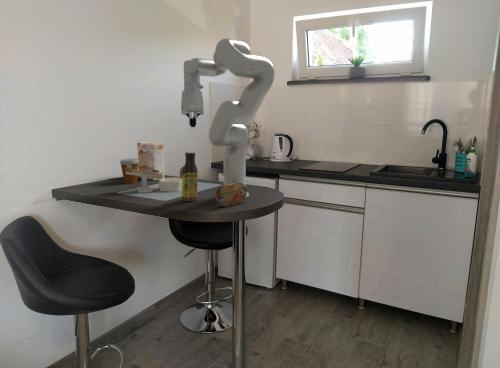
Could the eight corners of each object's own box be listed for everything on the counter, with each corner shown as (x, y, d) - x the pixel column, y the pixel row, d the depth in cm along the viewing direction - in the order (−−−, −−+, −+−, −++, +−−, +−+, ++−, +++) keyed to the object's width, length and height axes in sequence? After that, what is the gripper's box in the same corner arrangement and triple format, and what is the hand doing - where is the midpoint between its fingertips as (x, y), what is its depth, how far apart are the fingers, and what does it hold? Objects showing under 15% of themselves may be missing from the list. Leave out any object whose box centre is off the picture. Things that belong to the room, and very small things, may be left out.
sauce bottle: (184, 202, 149) (183, 153, 145) (180, 199, 154) (179, 151, 151) (199, 201, 151) (199, 152, 148) (195, 198, 157) (195, 151, 153)
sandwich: (219, 208, 140) (219, 186, 139) (214, 207, 142) (214, 185, 141) (246, 202, 151) (247, 181, 149) (241, 200, 153) (241, 180, 152)
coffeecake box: (138, 176, 209) (136, 142, 205) (149, 175, 214) (147, 141, 211) (154, 180, 199) (152, 143, 196) (164, 178, 205) (163, 143, 201)
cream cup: (185, 190, 172) (185, 181, 171) (161, 192, 168) (160, 182, 167) (181, 186, 183) (181, 177, 182) (158, 187, 179) (157, 178, 178)
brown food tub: (117, 182, 190) (115, 159, 188) (132, 180, 198) (131, 157, 196) (128, 184, 185) (127, 161, 183) (144, 182, 193) (143, 159, 190)
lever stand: (152, 192, 168) (151, 173, 166) (138, 192, 166) (137, 174, 164) (150, 188, 176) (149, 171, 175) (137, 189, 174) (136, 171, 173)
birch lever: (162, 178, 170) (163, 171, 170) (126, 174, 164) (127, 166, 164) (158, 174, 182) (159, 167, 182) (125, 170, 176) (126, 163, 176)
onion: (195, 180, 200) (195, 161, 198) (200, 183, 192) (199, 164, 190) (178, 181, 197) (178, 162, 195) (181, 184, 188) (181, 164, 186)
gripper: (205, 88, 181) (206, 126, 184) (175, 87, 175) (176, 126, 179) (209, 87, 174) (209, 127, 177) (177, 86, 168) (178, 127, 172)
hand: (192, 126), depth 178 cm, fingers closed
